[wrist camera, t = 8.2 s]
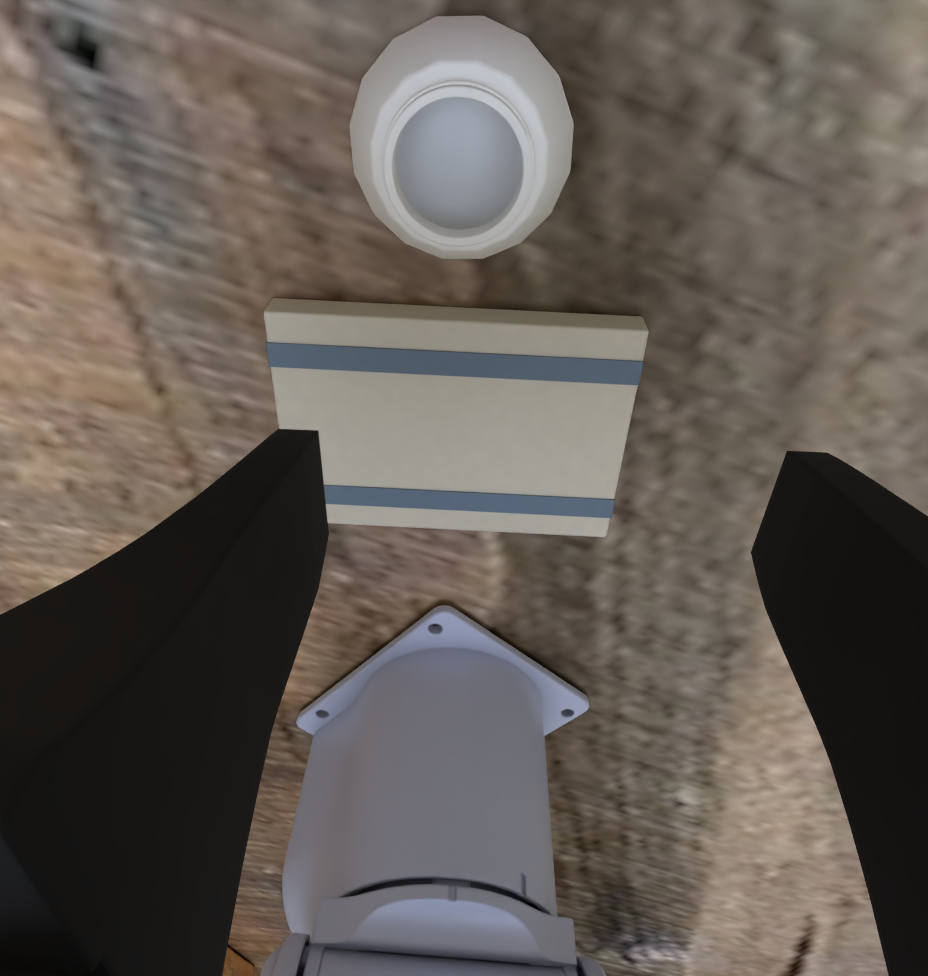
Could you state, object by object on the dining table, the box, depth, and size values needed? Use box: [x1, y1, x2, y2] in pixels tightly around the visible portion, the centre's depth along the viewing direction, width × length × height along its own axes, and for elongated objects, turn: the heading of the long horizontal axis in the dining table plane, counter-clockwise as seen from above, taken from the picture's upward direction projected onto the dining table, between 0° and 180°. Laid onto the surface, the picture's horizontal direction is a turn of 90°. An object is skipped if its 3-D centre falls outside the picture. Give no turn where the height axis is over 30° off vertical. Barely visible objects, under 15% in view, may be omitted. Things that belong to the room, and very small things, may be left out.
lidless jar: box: [349, 16, 574, 259], centre depth 16 cm, size 5×3×5 cm
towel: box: [264, 298, 649, 537], centre depth 21 cm, size 7×10×1 cm
